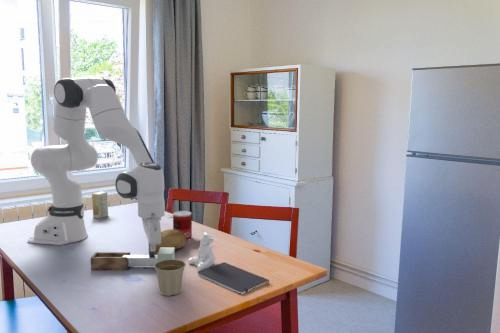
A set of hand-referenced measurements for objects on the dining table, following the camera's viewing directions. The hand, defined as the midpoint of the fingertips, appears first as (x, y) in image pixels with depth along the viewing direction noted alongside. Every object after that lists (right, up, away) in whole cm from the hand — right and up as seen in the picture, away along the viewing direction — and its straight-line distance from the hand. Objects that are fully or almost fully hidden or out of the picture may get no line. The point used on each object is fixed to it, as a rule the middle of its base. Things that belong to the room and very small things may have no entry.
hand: (152, 249), depth 148 cm
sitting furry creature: (+17, -7, +4) cm, 19 cm away
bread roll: (+3, -4, +19) cm, 20 cm away
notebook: (+28, -9, -7) cm, 30 cm away
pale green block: (+4, -7, +1) cm, 8 cm away
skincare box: (-40, +4, +63) cm, 75 cm away
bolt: (-2, -5, +1) cm, 6 cm away
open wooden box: (-14, -6, 0) cm, 16 cm away
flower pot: (+10, -10, -17) cm, 22 cm away
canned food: (+5, -2, +33) cm, 33 cm away
